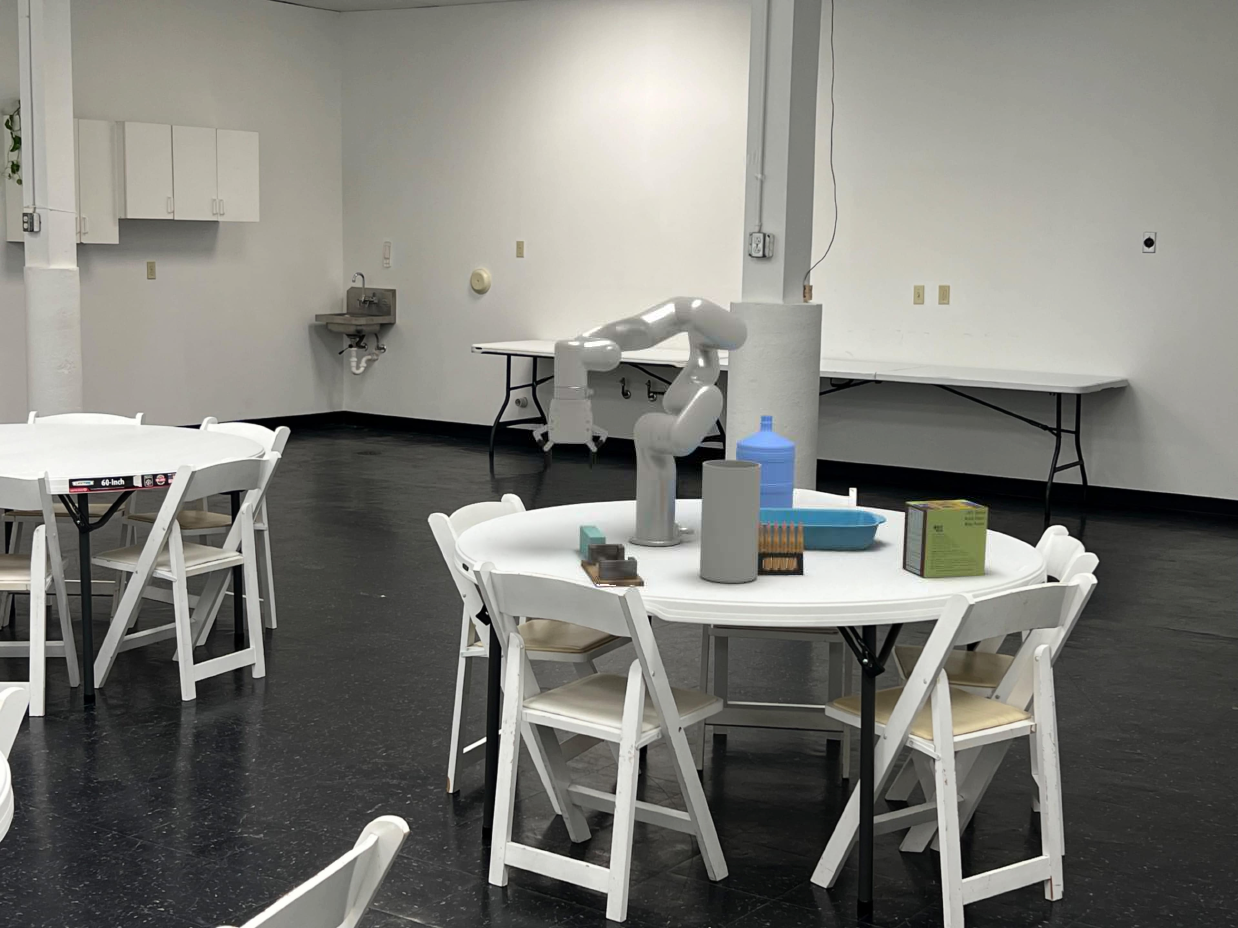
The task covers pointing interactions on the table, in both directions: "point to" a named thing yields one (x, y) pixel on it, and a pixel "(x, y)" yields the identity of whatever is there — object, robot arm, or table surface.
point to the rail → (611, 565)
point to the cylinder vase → (730, 521)
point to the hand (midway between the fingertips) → (570, 467)
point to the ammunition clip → (782, 559)
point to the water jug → (771, 464)
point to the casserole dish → (825, 526)
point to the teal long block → (590, 538)
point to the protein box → (945, 538)
